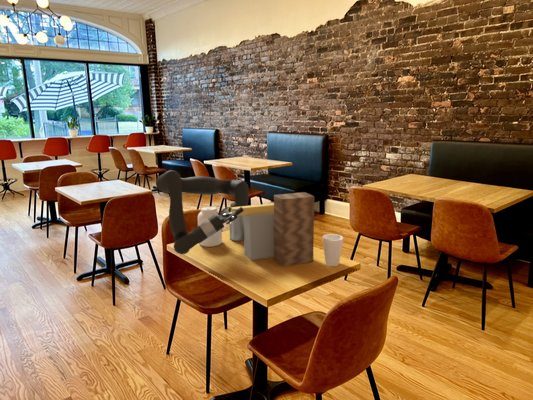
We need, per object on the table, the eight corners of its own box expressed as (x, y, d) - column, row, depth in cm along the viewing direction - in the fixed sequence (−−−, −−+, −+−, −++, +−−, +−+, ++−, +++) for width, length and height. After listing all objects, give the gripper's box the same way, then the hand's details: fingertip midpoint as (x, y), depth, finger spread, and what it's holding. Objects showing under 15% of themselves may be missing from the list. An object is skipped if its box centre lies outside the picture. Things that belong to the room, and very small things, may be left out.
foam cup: (318, 261, 190) (318, 235, 187) (334, 258, 194) (335, 233, 191) (329, 268, 181) (329, 241, 178) (346, 265, 185) (347, 238, 182)
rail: (233, 216, 188) (232, 209, 187) (231, 214, 191) (230, 207, 190) (283, 210, 197) (283, 204, 196) (281, 209, 200) (281, 202, 199)
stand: (282, 266, 184) (282, 199, 177) (274, 259, 193) (273, 194, 186) (313, 261, 190) (314, 196, 182) (303, 254, 199) (304, 192, 192)
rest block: (250, 260, 192) (249, 216, 187) (244, 253, 202) (243, 211, 197) (281, 255, 198) (281, 212, 193) (273, 249, 207) (273, 208, 202)
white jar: (212, 248, 209) (211, 211, 204) (194, 244, 215) (192, 208, 210) (226, 241, 219) (225, 206, 215) (208, 238, 225) (207, 203, 221)
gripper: (210, 223, 179) (240, 203, 182) (204, 216, 192) (231, 197, 195) (219, 236, 182) (248, 216, 185) (212, 228, 195) (239, 209, 198)
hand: (239, 206), depth 190 cm, fingers open, 8 cm apart
